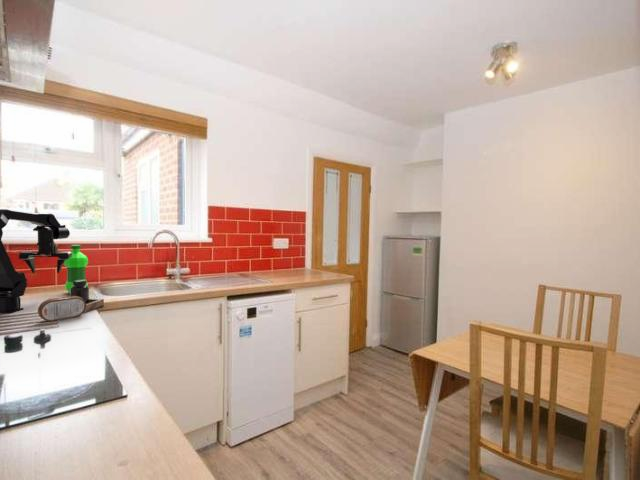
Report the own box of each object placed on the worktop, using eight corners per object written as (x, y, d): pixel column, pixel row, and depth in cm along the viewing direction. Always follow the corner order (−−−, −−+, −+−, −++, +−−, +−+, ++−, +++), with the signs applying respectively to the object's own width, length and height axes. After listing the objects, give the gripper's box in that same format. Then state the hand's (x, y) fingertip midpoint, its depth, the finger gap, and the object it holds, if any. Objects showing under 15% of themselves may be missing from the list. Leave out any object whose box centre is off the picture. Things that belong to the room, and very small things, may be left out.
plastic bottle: (86, 293, 172) (85, 245, 171) (61, 295, 168) (60, 246, 167) (90, 290, 181) (90, 244, 180) (67, 291, 177) (66, 244, 176)
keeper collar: (82, 313, 138) (82, 306, 138) (54, 312, 139) (54, 305, 139) (103, 305, 151) (103, 299, 150) (77, 304, 151) (77, 298, 151)
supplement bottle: (67, 309, 141) (66, 281, 140) (74, 305, 148) (73, 279, 147) (85, 309, 143) (85, 281, 142) (92, 305, 149) (91, 278, 149)
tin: (84, 314, 137) (84, 294, 137) (87, 315, 135) (87, 295, 135) (37, 322, 126) (37, 300, 125) (39, 323, 124) (39, 301, 123)
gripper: (75, 238, 165) (75, 269, 167) (28, 238, 158) (28, 270, 160) (67, 241, 155) (68, 274, 157) (17, 240, 148) (18, 275, 150)
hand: (46, 273), depth 156 cm, fingers open, 9 cm apart
